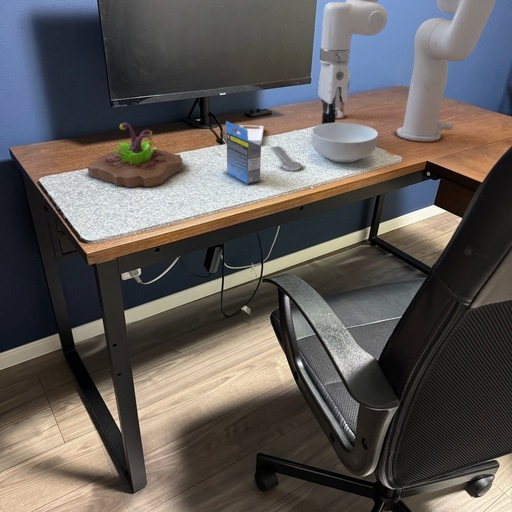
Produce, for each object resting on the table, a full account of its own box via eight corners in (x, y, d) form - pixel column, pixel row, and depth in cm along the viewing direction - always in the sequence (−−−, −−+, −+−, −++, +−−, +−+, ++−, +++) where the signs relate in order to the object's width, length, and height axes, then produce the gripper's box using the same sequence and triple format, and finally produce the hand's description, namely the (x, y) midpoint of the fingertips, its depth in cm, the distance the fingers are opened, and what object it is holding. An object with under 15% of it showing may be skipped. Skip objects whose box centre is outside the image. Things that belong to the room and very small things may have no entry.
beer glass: (348, 115, 164) (354, 68, 157) (340, 120, 159) (345, 71, 151) (329, 112, 167) (334, 66, 160) (321, 116, 162) (325, 69, 155)
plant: (127, 152, 126) (122, 108, 121) (194, 163, 120) (192, 118, 114) (75, 178, 110) (66, 128, 105) (148, 192, 104) (143, 141, 98)
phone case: (261, 145, 134) (263, 130, 147) (261, 140, 133) (263, 125, 146) (234, 144, 134) (239, 129, 147) (234, 139, 134) (239, 124, 147)
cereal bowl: (309, 146, 134) (311, 120, 131) (370, 149, 133) (374, 123, 130) (309, 167, 120) (312, 139, 116) (378, 171, 118) (382, 142, 115)
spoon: (284, 148, 132) (284, 145, 132) (303, 170, 118) (303, 167, 117) (268, 148, 132) (268, 146, 131) (285, 171, 117) (285, 168, 117)
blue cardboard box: (261, 181, 111) (262, 127, 105) (247, 184, 109) (247, 130, 103) (239, 169, 117) (239, 118, 111) (225, 172, 115) (225, 120, 109)
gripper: (359, 60, 120) (351, 134, 129) (337, 52, 132) (330, 119, 142) (331, 61, 118) (324, 135, 128) (311, 52, 131) (306, 120, 140)
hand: (327, 127), depth 135 cm, fingers closed
